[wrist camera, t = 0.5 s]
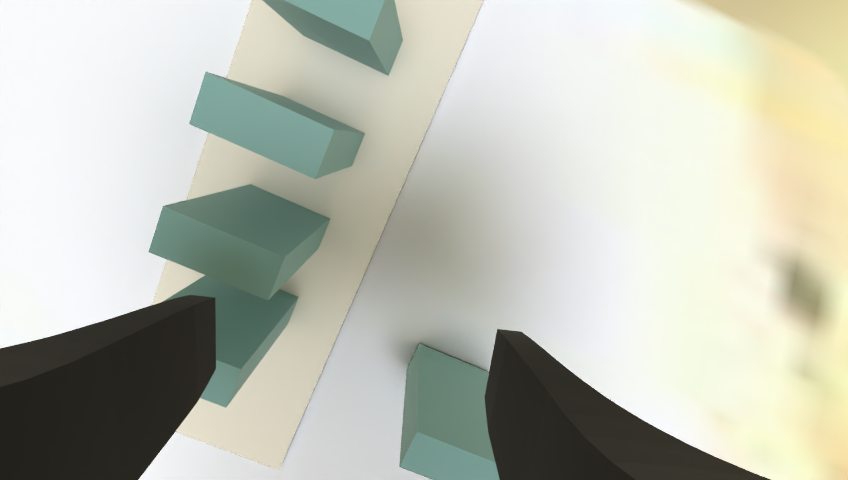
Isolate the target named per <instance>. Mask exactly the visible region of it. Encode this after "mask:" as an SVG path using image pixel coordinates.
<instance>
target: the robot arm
mask: <svg viewBox="0 0 848 480" xmlns="http://www.w3.org/2000/svg"><path fill="white" fill-rule="evenodd" d="M215 370H216V303H215V297H206V296H197V295H187V296H182V297H178V298H174V299H171V300H167V301H164V302H161V303H158V304H155V305H152V306H148V307H145V308H142V309H139V310H136V311H133V312H130V313H127V314H124V315H121V316H118V317H115V318H112V319H109V320H105V321H102V322H99V323H95V324H92V325H89V326H85V327H82V328H79V329H75V330H72V331H69V332H65V333H62V334H58V335H55V336H51V337H47V338H43V339H39V340H35V341H31V342H27V343H23V344H18V345H14V346H10V347H5V348H1V349H0V480H138V479H139V478H140V477H141V475H142V474H143V473H144V471H145V470H146V469H147V468H148V466H149V465H150V464H151V462H152V461H153V460H154V458H155V457H156V456H157V455H158V453H159V452H160V451H161V449H162V448H163V447H164V446H165V444H166V443H167V442H168V440H169V439H170V438H171V436H172V435H173V434H174V433H175V431H176V430H177V429H178V427H179V426H180V425H181V423H182V422H183V421H184V419H185V418H186V417H187V415H188V414H189V413H190V411H191V410H192V409H193V407H194V406H195V405H196V403H197V402H198V400H199V398H200V397H201V395H202V393H203V392H204V390H205V388H206V386H207V385H208V383H209V381H210V379H211V377H212V375H213V374H214V372H215ZM484 398H485V408H486V418H487V426H488V434H489V438H490V442H491V446H492V450H493V455H494V459H495V463H496V467H497V471H498V475H499V479H500V480H770V479H767V478H765V477H762V476H759V475H757V474H754V473H752V472H749V471H747V470H745V469H742V468H740V467H738V466H735V465H733V464H731V463H728V462H726V461H723V460H721V459H719V458H716V457H714V456H712V455H710V454H708V453H706V452H703V451H701V450H699V449H697V448H695V447H693V446H691V445H688V444H686V443H685V442H683V441H681V440H679V439H677V438H675V437H673V436H671V435H669V434H667V433H665V432H663V431H661V430H659V429H657V428H656V427H654V426H652V425H650V424H648V423H647V422H645V421H643V420H641V419H640V418H638V417H636V416H635V415H633V414H631V413H630V412H628V411H627V410H625V409H623V408H622V407H620V406H618V405H617V404H615V403H614V402H612V401H611V400H609V399H608V398H606V397H605V396H603V395H602V394H600V393H599V392H598V391H596V390H595V389H593V388H592V387H591V386H589V385H588V384H587V383H585V382H584V381H582V380H581V379H580V378H578V377H577V376H576V375H575V374H573V373H572V372H571V371H569V370H568V369H567V368H566V367H564V366H563V365H562V364H561V363H560V362H558V361H557V360H556V359H555V358H553V357H552V356H551V355H550V354H549V353H547V352H546V351H545V350H544V349H543V348H541V347H540V346H539V345H538V344H537V343H535V342H534V341H533V340H532V339H530V338H529V337H528V336H526V335H525V334H523V333H522V332H518V331H509V330H500V329H497V334H496V339H495V345H494V350H493V355H492V360H491V366H490V371H489V376H488V381H487V386H486V392H485V397H484Z"/></svg>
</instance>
